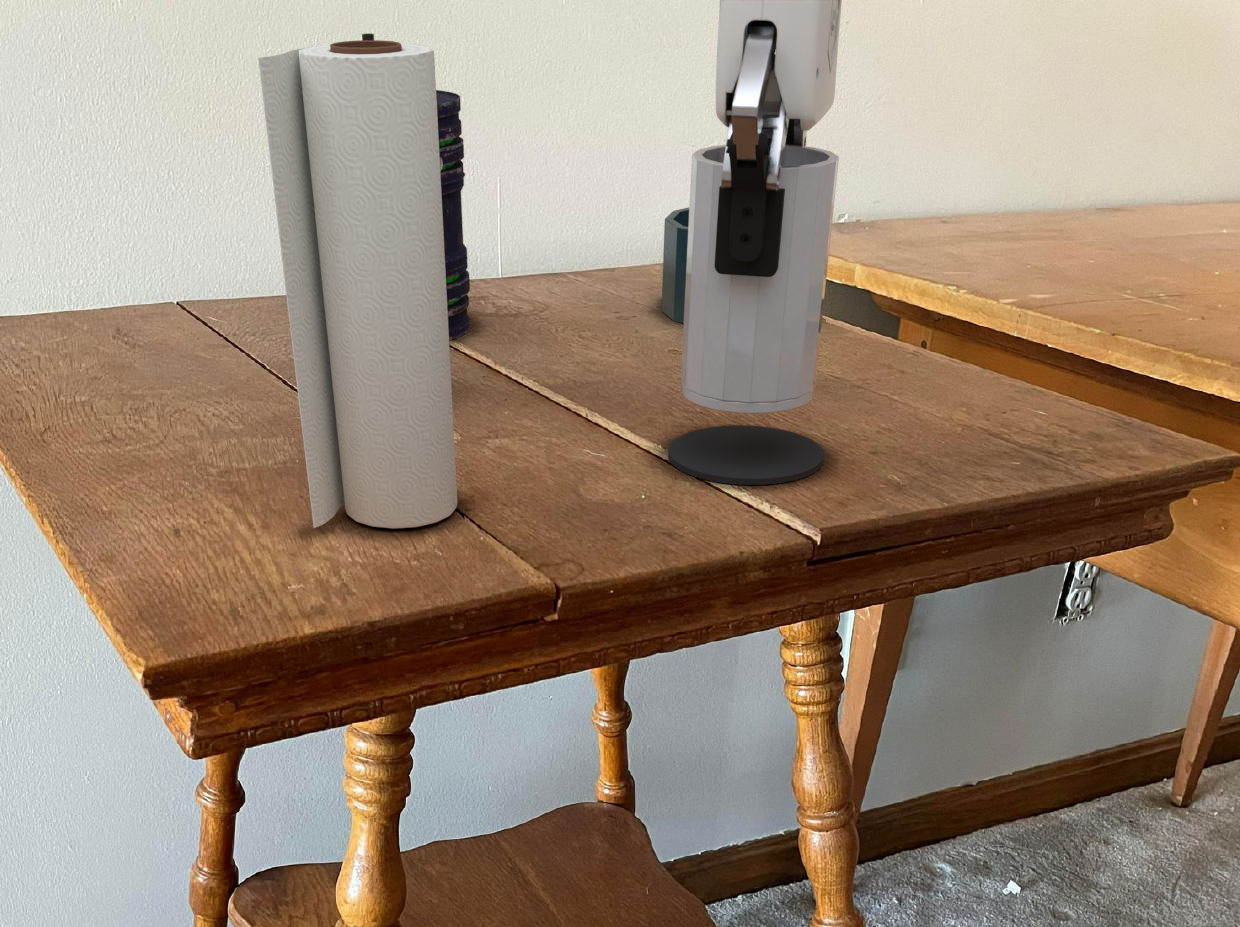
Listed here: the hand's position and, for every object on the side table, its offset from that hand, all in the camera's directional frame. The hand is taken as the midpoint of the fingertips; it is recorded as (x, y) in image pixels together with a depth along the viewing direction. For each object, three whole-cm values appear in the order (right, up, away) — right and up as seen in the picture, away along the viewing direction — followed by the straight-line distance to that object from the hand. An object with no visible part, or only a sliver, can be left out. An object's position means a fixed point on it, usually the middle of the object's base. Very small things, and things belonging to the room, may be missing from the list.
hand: (758, 254), depth 74 cm
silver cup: (0, -6, +4) cm, 7 cm away
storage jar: (-22, +8, +29) cm, 38 cm away
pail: (+3, +11, +33) cm, 34 cm away
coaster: (0, -9, +7) cm, 11 cm away
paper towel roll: (-20, -14, 0) cm, 24 cm away
